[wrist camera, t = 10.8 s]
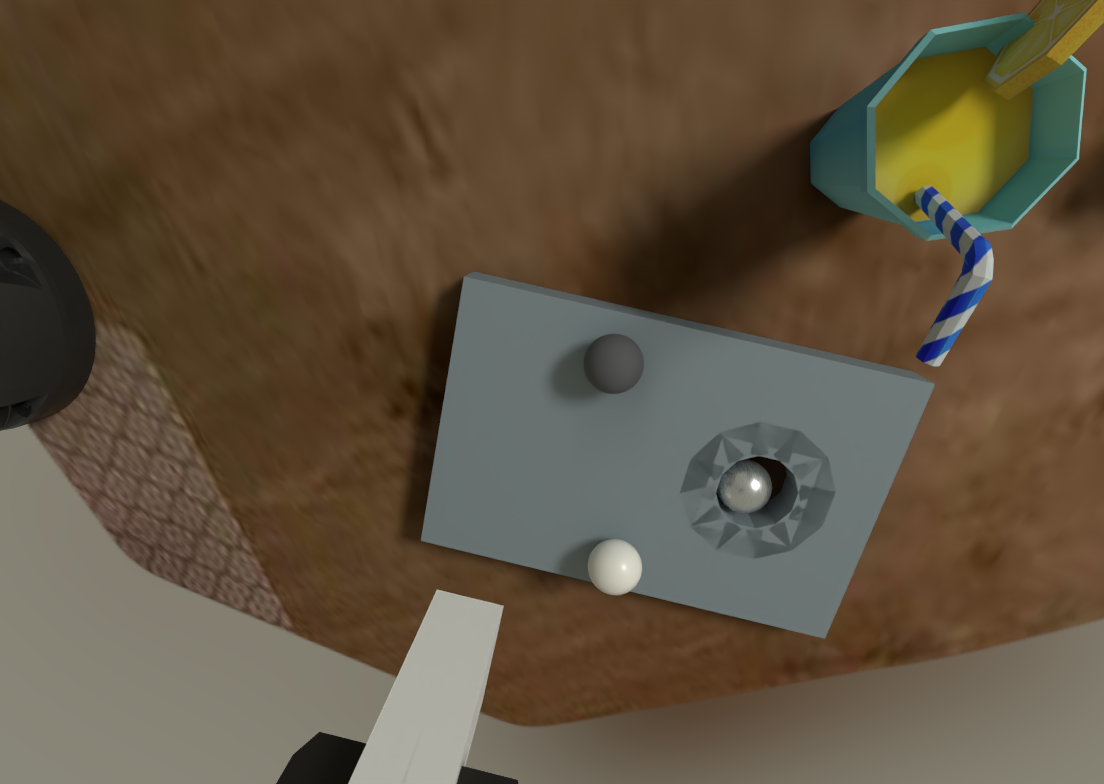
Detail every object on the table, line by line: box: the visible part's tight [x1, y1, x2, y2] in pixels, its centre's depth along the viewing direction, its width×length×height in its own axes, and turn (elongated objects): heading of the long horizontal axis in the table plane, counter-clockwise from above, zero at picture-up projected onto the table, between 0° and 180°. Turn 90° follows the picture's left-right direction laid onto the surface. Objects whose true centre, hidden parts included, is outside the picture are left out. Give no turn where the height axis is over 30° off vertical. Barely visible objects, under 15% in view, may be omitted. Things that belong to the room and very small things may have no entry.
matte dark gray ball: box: [583, 334, 644, 394], centre depth 32 cm, size 3×3×3 cm
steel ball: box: [717, 459, 772, 513], centre depth 36 cm, size 3×3×3 cm
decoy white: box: [588, 539, 642, 595], centre depth 36 cm, size 3×3×3 cm
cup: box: [810, 0, 1104, 366], centre depth 25 cm, size 14×8×15 cm, turn 166°
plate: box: [421, 272, 935, 639], centre depth 36 cm, size 26×17×2 cm, turn 78°
